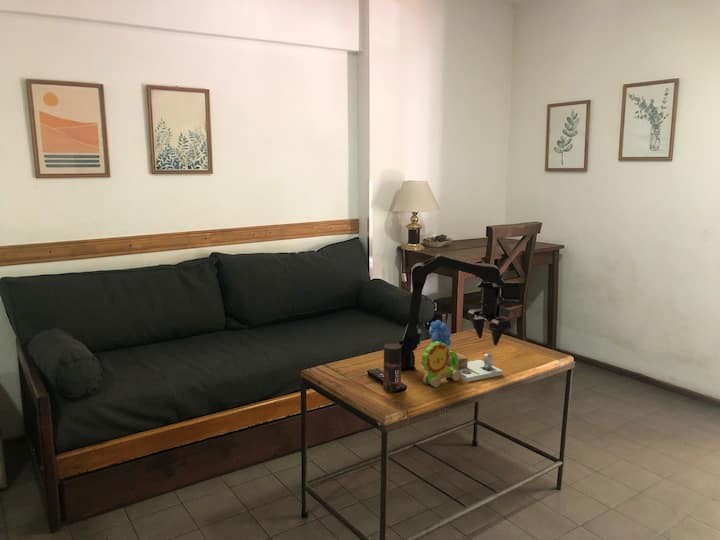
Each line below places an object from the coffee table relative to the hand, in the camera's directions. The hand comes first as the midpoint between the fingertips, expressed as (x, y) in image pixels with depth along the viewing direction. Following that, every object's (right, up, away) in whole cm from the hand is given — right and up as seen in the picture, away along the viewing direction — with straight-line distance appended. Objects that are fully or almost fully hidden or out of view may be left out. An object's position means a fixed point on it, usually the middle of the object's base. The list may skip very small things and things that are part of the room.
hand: (487, 341), depth 211 cm
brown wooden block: (-11, -9, +3) cm, 15 cm away
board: (-5, -12, +2) cm, 13 cm away
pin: (0, -12, +2) cm, 12 cm away
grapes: (-14, -7, +28) cm, 32 cm away
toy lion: (-18, -14, -8) cm, 24 cm away
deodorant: (-35, -15, -13) cm, 41 cm away
